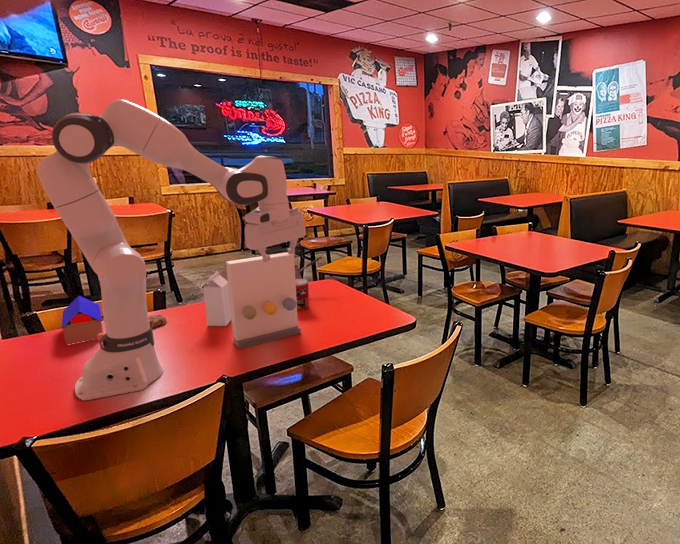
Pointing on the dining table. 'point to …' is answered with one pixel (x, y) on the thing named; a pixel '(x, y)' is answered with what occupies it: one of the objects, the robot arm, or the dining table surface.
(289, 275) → the button panel
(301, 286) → the canned food
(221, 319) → the milk carton
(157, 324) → the cookie
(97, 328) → the house
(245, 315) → the olive button
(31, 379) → the dining table surface
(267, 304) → the amber button
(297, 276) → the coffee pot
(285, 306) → the slate button
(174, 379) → the dining table surface
